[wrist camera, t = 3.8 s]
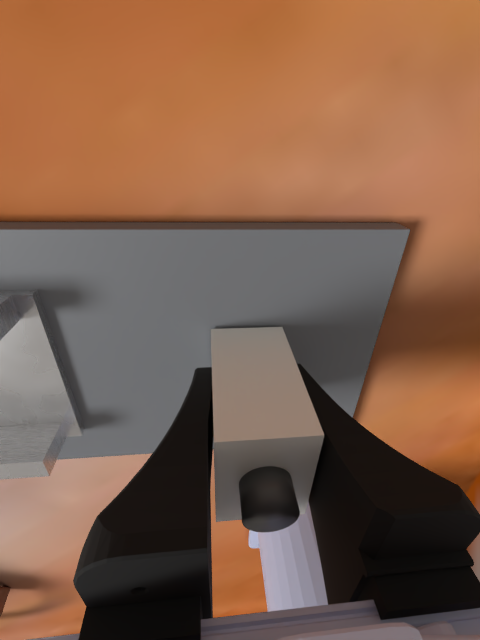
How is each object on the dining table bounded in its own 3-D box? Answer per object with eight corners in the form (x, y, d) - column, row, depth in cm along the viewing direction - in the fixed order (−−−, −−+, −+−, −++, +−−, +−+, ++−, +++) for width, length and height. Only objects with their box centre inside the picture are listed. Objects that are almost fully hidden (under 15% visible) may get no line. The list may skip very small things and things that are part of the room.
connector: (282, 326, 13) (337, 468, 8) (274, 396, 15) (313, 547, 10) (210, 328, 13) (215, 478, 7) (212, 399, 15) (216, 556, 10)
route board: (396, 222, 13) (410, 229, 12) (339, 426, 19) (345, 440, 18) (-230, 221, 10) (-268, 229, 10) (-61, 451, 17) (-75, 468, 16)
